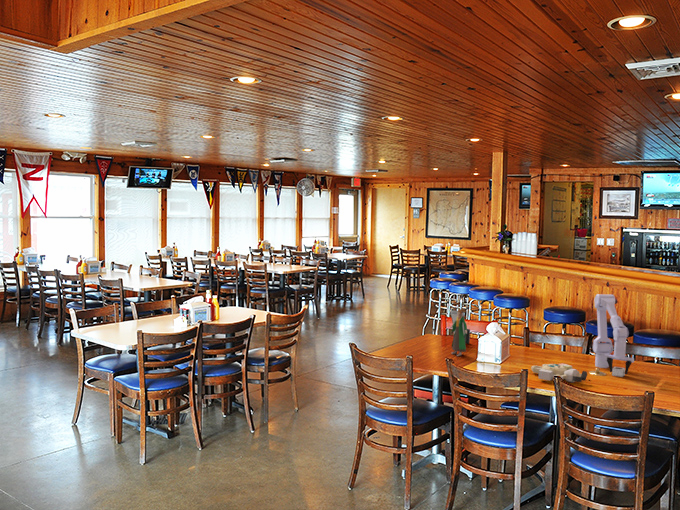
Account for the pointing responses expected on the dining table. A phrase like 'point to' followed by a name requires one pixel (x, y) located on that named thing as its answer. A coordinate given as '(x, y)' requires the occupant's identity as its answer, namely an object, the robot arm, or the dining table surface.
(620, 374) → the collar
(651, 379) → the dining table surface
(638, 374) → the dining table surface
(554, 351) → the dining table surface
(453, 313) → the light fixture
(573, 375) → the toy
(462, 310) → the figurine
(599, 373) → the hub
